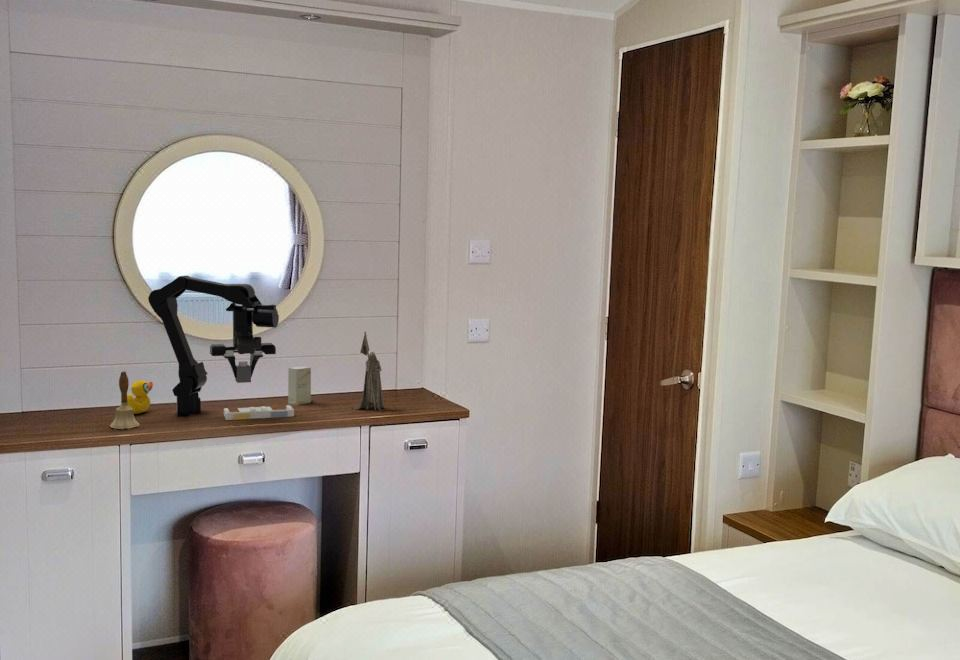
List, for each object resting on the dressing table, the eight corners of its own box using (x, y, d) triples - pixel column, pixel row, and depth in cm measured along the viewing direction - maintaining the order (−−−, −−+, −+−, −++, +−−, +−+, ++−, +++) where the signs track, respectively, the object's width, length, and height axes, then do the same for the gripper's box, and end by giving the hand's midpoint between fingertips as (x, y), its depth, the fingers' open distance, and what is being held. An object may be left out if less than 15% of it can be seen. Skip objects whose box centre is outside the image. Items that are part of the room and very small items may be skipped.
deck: (240, 414, 289) (240, 412, 289) (237, 410, 296) (237, 408, 296) (273, 412, 293) (273, 410, 293) (270, 408, 299) (270, 406, 299)
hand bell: (145, 426, 271) (144, 371, 269) (118, 431, 265) (116, 375, 263) (131, 422, 276) (129, 368, 274) (103, 426, 270) (102, 371, 268)
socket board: (227, 424, 276) (227, 415, 276) (223, 416, 286) (223, 408, 286) (295, 420, 283) (295, 412, 283) (290, 413, 293) (290, 405, 293)
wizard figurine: (358, 413, 295) (358, 333, 292) (350, 407, 303) (350, 330, 300) (389, 410, 300) (390, 332, 297) (380, 405, 307) (381, 329, 304)
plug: (237, 382, 283) (237, 363, 282) (235, 380, 287) (235, 360, 286) (251, 382, 284) (250, 362, 284) (248, 379, 288) (248, 360, 287)
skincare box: (296, 406, 303) (296, 369, 301) (287, 404, 305) (287, 367, 304) (311, 404, 308) (311, 367, 306) (302, 402, 310) (302, 365, 309)
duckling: (145, 408, 295) (144, 377, 294) (159, 410, 293) (158, 378, 292) (118, 415, 285) (117, 382, 283) (132, 417, 282) (132, 384, 281)
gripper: (214, 330, 273) (214, 383, 274) (279, 328, 280) (279, 380, 282) (209, 325, 283) (209, 377, 285) (272, 324, 290) (272, 374, 292)
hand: (243, 377), depth 285 cm, fingers closed on plug, 4 cm apart
